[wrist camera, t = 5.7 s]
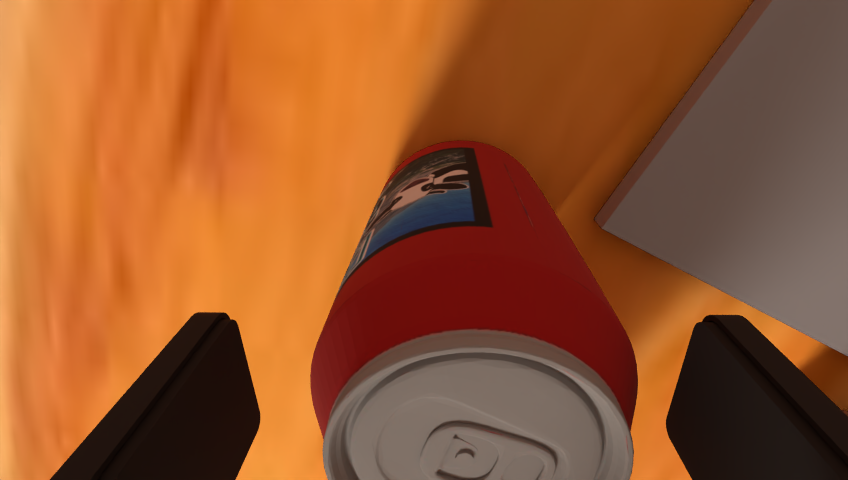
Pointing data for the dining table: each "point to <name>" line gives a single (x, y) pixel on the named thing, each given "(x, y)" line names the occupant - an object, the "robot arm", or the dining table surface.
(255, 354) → the dining table surface
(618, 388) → the beverage can
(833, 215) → the slate board
